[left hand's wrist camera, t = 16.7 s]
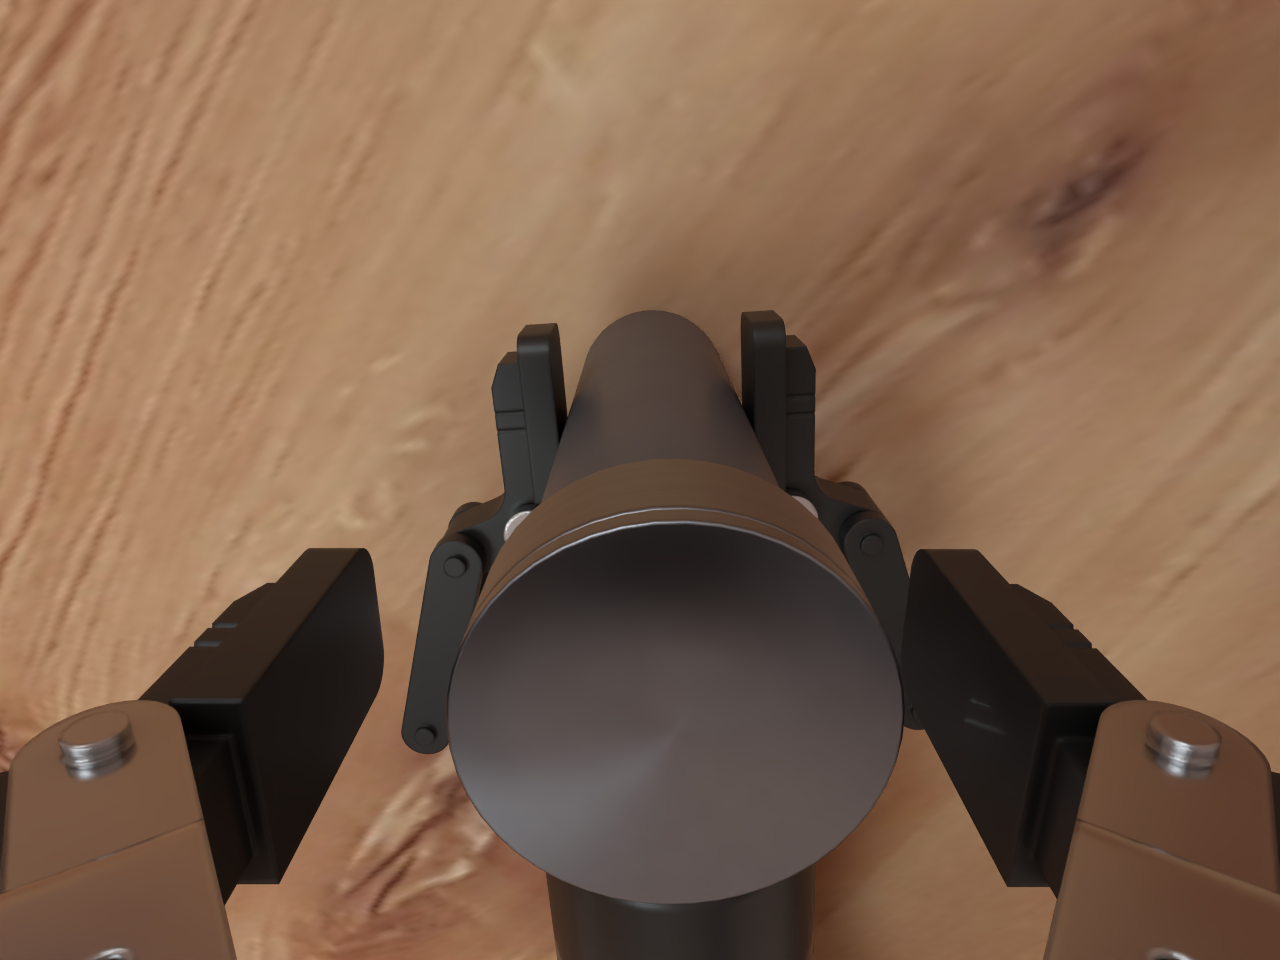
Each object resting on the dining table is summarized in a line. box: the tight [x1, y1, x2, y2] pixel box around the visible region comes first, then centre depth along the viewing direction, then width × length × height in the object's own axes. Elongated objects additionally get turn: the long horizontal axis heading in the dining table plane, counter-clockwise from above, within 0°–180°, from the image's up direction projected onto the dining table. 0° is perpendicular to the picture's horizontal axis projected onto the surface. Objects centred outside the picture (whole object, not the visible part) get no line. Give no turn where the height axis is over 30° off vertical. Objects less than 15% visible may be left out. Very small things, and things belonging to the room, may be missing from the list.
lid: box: [446, 459, 905, 904], centre depth 10 cm, size 5×5×2 cm
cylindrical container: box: [541, 311, 780, 503], centre depth 17 cm, size 4×4×16 cm
